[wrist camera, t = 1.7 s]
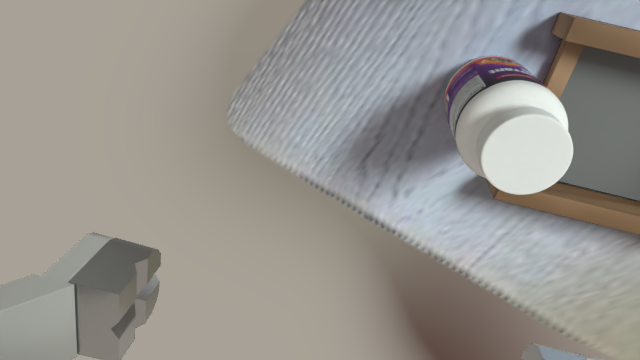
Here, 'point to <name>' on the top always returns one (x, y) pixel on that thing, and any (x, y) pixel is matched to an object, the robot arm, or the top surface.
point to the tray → (574, 37)
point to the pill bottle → (508, 125)
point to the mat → (604, 122)
